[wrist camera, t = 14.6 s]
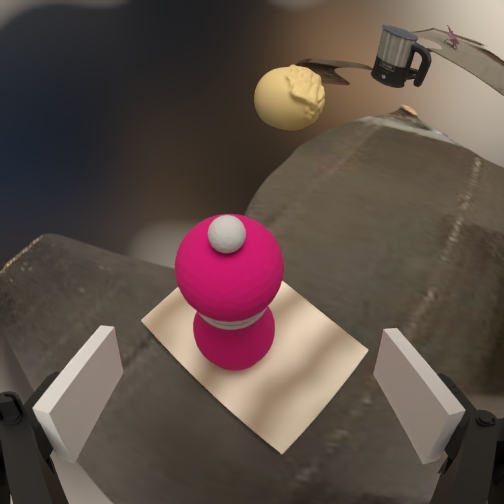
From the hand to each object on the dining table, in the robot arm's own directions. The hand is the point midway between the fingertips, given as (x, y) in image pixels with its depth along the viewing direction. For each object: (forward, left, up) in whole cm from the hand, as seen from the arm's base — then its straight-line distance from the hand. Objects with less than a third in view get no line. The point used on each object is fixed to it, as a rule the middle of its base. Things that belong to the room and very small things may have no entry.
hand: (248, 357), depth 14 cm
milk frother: (+19, -78, -19) cm, 83 cm away
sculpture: (+25, -37, -19) cm, 49 cm away
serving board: (+3, -4, -19) cm, 19 cm away
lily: (+20, -156, -19) cm, 158 cm away
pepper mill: (+4, -3, -17) cm, 18 cm away
